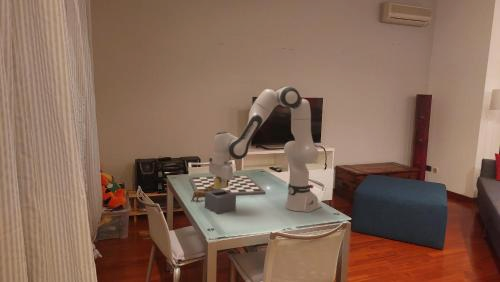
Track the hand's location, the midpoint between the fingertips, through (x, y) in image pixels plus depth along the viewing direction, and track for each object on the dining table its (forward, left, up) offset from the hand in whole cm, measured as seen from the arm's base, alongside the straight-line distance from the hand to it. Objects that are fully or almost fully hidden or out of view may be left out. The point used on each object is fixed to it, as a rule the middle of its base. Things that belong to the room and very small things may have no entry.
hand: (220, 184), depth 205 cm
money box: (0, 0, -14) cm, 14 cm away
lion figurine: (+1, -18, -15) cm, 23 cm away
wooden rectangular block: (0, 0, -2) cm, 2 cm away
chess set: (-28, -38, -15) cm, 50 cm away
